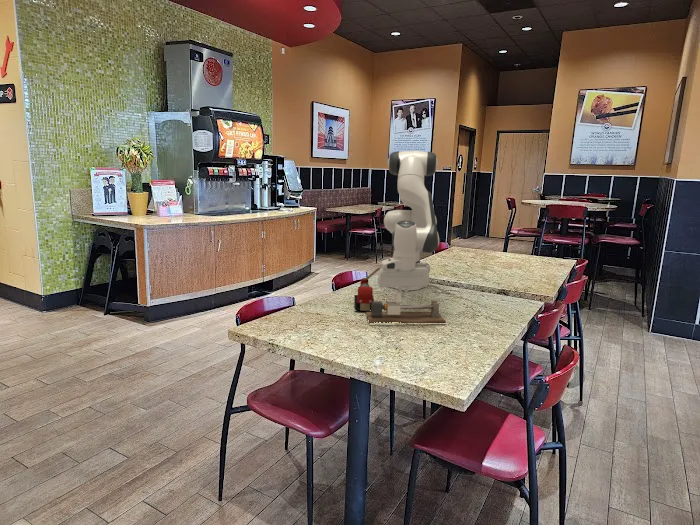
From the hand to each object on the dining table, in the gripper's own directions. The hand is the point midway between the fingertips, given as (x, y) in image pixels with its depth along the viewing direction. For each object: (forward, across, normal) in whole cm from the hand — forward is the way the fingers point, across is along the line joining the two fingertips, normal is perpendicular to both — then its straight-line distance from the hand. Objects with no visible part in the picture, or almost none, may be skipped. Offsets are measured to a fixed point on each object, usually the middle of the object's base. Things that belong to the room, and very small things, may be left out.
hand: (402, 297), depth 182 cm
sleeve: (+7, +4, 0) cm, 8 cm away
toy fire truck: (+10, +12, -17) cm, 23 cm away
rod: (+8, -1, 0) cm, 8 cm away
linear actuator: (+10, -1, 0) cm, 10 cm away
